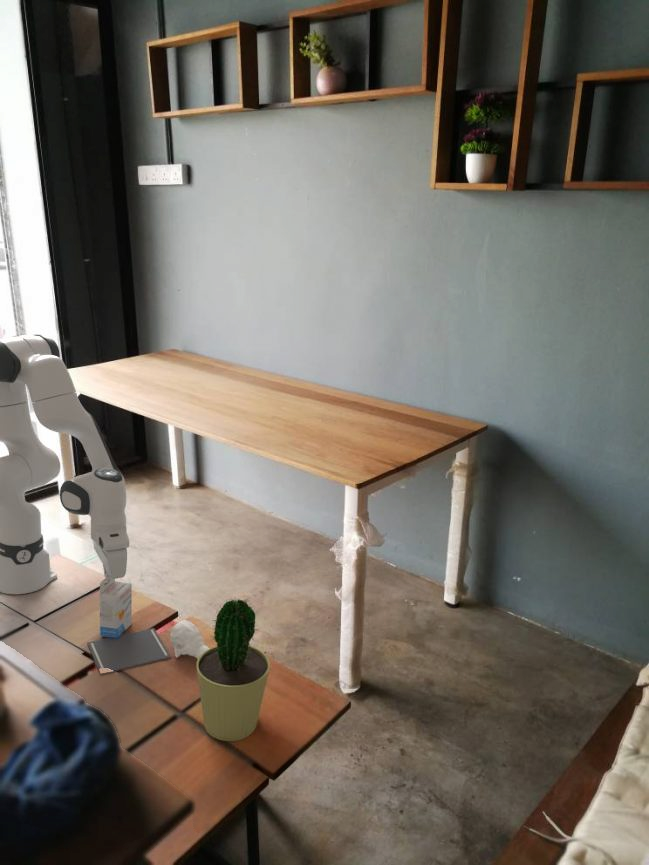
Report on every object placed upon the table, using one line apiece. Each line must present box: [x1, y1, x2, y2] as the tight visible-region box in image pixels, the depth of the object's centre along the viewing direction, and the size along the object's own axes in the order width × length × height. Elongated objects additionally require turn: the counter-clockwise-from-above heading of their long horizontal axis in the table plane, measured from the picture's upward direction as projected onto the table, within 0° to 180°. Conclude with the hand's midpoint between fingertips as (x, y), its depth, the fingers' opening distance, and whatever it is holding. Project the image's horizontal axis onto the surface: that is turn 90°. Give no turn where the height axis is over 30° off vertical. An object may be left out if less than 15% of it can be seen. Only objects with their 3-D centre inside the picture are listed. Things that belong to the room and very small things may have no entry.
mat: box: [86, 627, 172, 673], centre depth 172 cm, size 14×17×1 cm
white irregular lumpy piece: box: [169, 619, 211, 664], centre depth 170 cm, size 6×8×12 cm
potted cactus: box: [196, 597, 271, 742], centre depth 145 cm, size 15×15×30 cm
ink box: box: [99, 576, 133, 639], centre depth 178 cm, size 8×5×15 cm, turn 170°
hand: (108, 578), depth 183 cm, fingers closed
